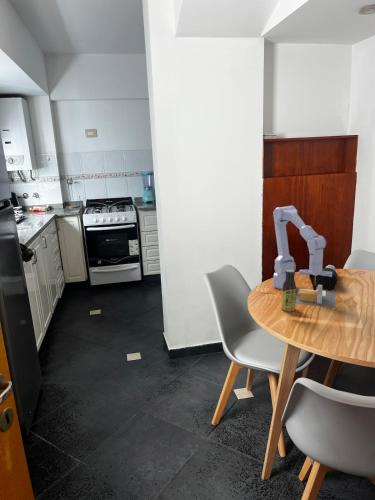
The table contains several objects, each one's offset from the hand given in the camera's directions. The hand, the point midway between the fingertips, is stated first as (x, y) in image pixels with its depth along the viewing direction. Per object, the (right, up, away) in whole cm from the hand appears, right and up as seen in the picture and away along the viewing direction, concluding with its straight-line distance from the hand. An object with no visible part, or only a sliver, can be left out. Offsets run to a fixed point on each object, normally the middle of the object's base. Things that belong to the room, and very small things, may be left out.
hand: (314, 289), depth 174 cm
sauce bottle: (-14, -10, -6) cm, 18 cm away
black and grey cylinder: (+18, +1, +29) cm, 34 cm away
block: (-1, -5, +2) cm, 6 cm away
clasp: (+2, -5, +1) cm, 6 cm away
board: (+2, -6, +5) cm, 8 cm away
